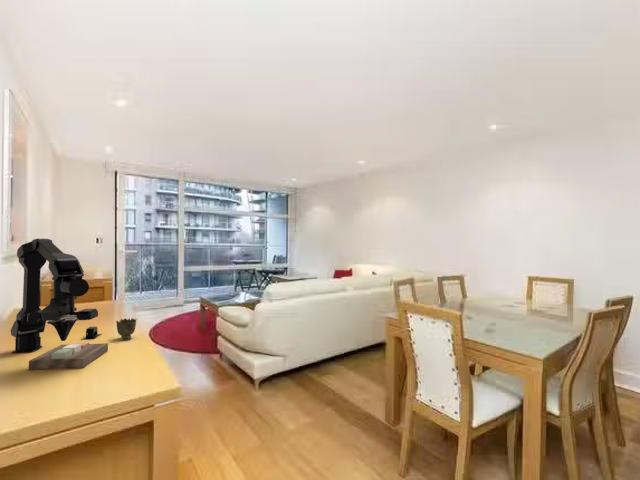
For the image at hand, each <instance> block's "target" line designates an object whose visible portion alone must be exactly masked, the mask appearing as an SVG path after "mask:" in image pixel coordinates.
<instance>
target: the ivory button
mask: <svg viewBox="0 0 640 480" xmlns="http://www.w3.org/2000/svg"><path fill="white" fill-rule="evenodd" d="M66 345H67V346H65V347H63V348H62V350H63V349H72V353H76V352H78V351H80V350H81V344H76V343H74V345H69V344H66Z"/></svg>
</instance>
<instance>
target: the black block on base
mask: <svg viewBox="0 0 640 480" xmlns="http://www.w3.org/2000/svg"><path fill="white" fill-rule="evenodd" d="M85 329H86V331H85V336H84V337H82V338H81V339H80V341H85V340H87V341H89V340H95V339H97V338H99V337H100V336H101V335H102V333H98V326H89V327H87V328H85Z"/></svg>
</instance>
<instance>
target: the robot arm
mask: <svg viewBox="0 0 640 480" xmlns="http://www.w3.org/2000/svg"><path fill="white" fill-rule="evenodd" d="M16 256H17V259H18V263H19V264H20V265H21V267H22V268H23V286H22V287H23V289H22V290H23V292H22V307H21V308H20V309H19V311H18V313H16V316H15V320H14V322H13V324H12V326H11V328H10V335H11V336H12V337H14V338H15V343H14V344H15V345H14V346H15V348H14V349H15V350H12V351H11V354H19V353H32V352H35V351H36V350H39V349H41V348H43V345H42V343H41V342H42V341H41V340H42V339H41V338H42V336H40V333H44V332H45V329H46V324H48V325H49V324H50V325H51V326H53V327H54V328H55V331H56V332H57V334H58V336H59V339H60V341H61V342H64V341H66V340H67V338H68V336H69V334H70V333H71V330H72V329H73V327H74V325H75V324H76V322H77V321H90V320H93V319H95V318H97V317H99V311H98V309H97V308H84V309H81V310H79V311H77V309H78V308H77V307H75V305H76V304H75V303H76V302H75V301H76V299H78V297H82V296H84V295H86V294H87V293H88V291H89V289H90V285H89V282H88V281H87V280H86V279H84V278H83V277H84V276H85V274H84V269H83V267H82V265H81V263H80V260H79V259H78V258H77V257H76V256H75V255H73V254H69V253H65V252H63V251H62V250H61V249H60V248H58V246H56V245H55V244H54V243H53V240H52V239H49V238H33V239H32V240H31V241H28V242H25V243H23V244H21V245H20V246H19V247H18V249H17V251H16ZM47 262H48V266H47V267H48V270H49V272H50V274H52V278H51V280H52V281H53V287H52V288H53V290H52V291H53V293H52V294H53V296H52V297H51V298H50V300H49V304H48V305H46V306H45V307H44V308H43V309H41V307H40V293H41V292H40V291H41V269H42V268H43V267H44V265H45V264H46V263H47Z"/></svg>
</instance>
